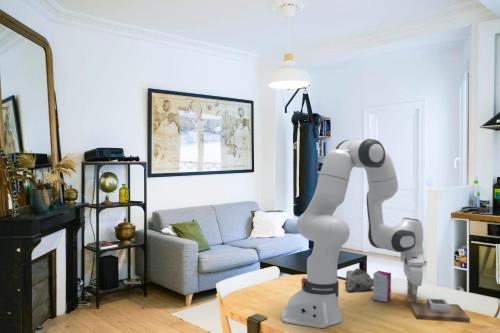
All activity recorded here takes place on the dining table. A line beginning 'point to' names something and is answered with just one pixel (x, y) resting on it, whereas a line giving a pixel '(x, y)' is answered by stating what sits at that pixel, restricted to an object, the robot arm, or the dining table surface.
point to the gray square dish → (438, 305)
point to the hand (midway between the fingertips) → (412, 290)
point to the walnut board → (424, 313)
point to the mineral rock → (358, 280)
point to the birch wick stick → (409, 290)
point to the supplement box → (381, 286)
